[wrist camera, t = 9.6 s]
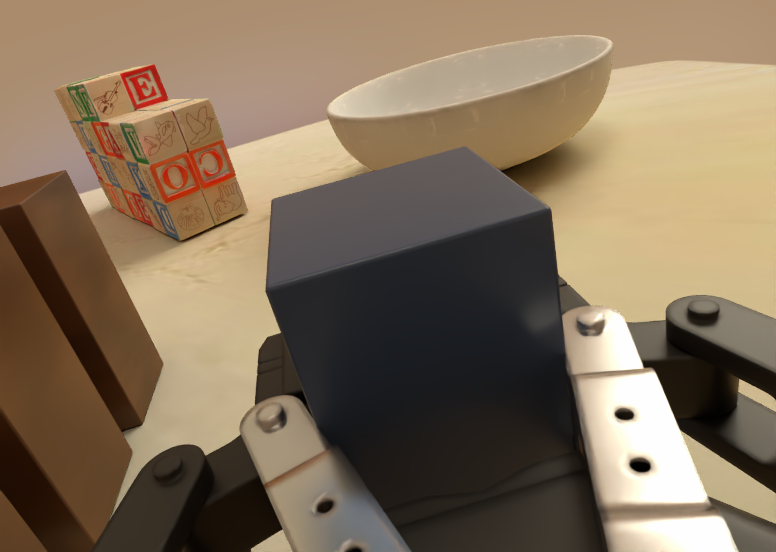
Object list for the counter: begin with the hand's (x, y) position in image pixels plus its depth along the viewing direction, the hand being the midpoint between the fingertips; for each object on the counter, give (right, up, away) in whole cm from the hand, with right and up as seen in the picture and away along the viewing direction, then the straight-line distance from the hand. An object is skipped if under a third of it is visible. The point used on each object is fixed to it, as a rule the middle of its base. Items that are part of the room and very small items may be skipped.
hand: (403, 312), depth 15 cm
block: (+2, -6, 0) cm, 7 cm away
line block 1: (-13, -5, +11) cm, 18 cm away
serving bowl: (+7, +10, +30) cm, 32 cm away
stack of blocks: (-20, +7, +38) cm, 44 cm away
